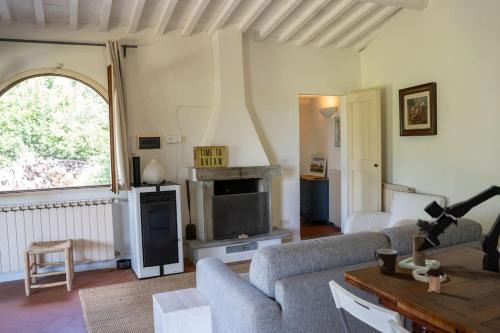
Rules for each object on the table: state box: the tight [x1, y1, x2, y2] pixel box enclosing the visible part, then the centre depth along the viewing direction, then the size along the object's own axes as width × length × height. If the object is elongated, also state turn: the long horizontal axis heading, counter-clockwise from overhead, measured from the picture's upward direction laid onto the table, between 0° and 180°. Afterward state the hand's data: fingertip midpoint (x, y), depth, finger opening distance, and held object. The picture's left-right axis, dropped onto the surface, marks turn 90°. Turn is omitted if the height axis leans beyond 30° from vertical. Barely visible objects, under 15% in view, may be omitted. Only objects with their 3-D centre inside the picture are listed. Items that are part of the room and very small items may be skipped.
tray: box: [398, 256, 441, 271], centre depth 190 cm, size 13×13×2 cm
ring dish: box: [411, 269, 447, 283], centre depth 174 cm, size 12×12×2 cm
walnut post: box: [412, 234, 426, 266], centre depth 190 cm, size 5×5×14 cm
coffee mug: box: [374, 248, 398, 276], centre depth 184 cm, size 12×9×10 cm
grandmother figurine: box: [424, 259, 447, 294], centre depth 158 cm, size 8×4×13 cm, turn 68°
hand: (415, 248), depth 190 cm, fingers open, 9 cm apart
